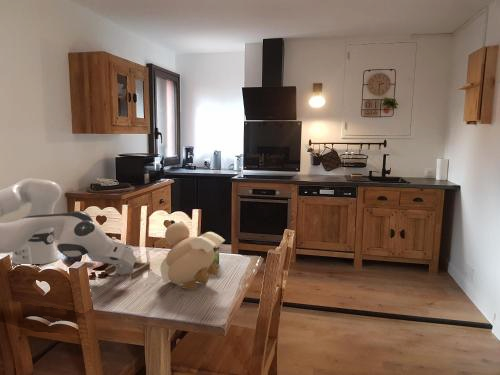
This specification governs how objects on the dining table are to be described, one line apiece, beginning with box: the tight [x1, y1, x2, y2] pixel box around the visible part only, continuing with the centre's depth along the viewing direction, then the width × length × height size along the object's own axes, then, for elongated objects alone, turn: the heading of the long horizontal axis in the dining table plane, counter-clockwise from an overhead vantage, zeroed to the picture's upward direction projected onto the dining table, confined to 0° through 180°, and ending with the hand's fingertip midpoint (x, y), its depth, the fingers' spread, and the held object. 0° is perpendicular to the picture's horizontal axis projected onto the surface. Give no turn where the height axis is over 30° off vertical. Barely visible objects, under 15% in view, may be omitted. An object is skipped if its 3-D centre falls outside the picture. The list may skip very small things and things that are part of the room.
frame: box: [104, 260, 151, 279], centre depth 167 cm, size 14×13×2 cm
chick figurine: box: [159, 220, 226, 293], centre depth 151 cm, size 30×28×23 cm
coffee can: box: [197, 232, 220, 267], centre depth 177 cm, size 10×10×14 cm
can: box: [115, 244, 134, 276], centre depth 165 cm, size 8×8×12 cm
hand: (119, 265), depth 161 cm, fingers closed
